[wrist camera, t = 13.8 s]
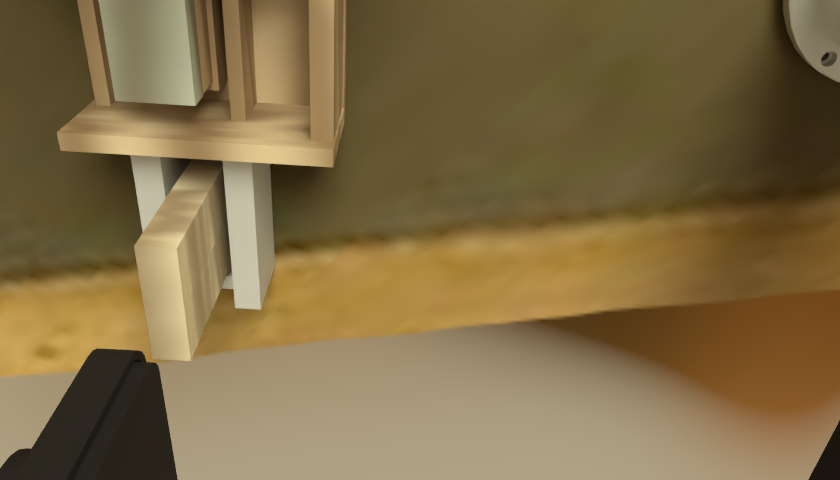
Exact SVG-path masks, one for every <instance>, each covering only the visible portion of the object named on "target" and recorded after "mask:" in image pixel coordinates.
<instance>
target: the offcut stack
mask: <svg viewBox="0 0 840 480" xmlns="http://www.w3.org/2000/svg"><path fill="white" fill-rule="evenodd" d="M98 1H99V7H100V13H101V19H102V25H103V31H104V37H105V43H106V49H107V55H108V61H109V67H110V73H111V79H112V85H113V91H114V97H115V101H124V102H140V103H155V104H171V105H186V106H196V105H197V104H198V102H199V101H200V100H201V98H202V97H203V94H204V92H205V91H206V90H216V91H219V90H220V89H221V88H222V86H223V85H224V83H225V82H226V81H227V79H228V76H227V63H226V50H225V37H224V24H223V11H222V0H98Z"/></svg>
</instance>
